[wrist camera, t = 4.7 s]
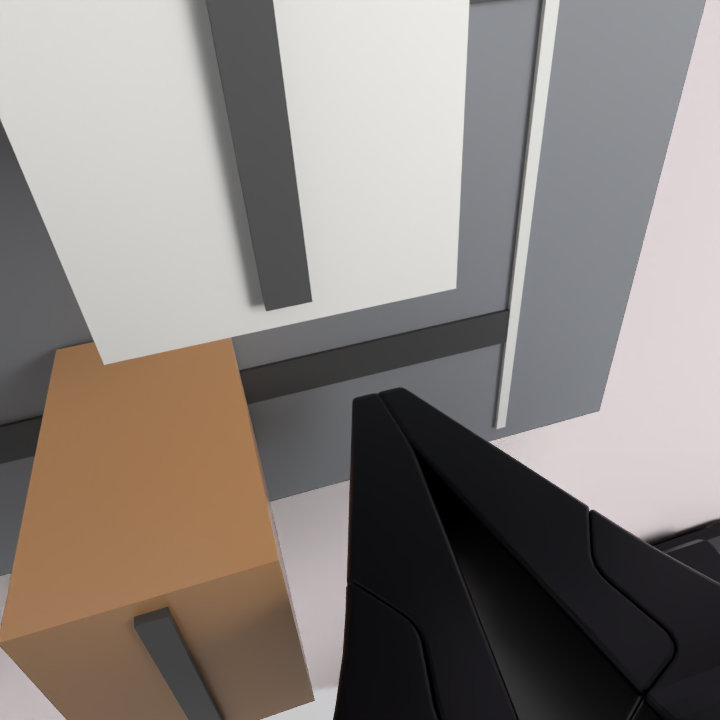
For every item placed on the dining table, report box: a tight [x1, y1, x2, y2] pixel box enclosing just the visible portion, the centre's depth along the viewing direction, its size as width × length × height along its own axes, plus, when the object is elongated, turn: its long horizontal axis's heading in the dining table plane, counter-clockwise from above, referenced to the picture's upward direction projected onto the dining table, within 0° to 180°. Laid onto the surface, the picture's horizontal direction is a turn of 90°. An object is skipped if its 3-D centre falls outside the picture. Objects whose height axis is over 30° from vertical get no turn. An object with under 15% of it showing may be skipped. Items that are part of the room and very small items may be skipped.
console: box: [0, 0, 706, 576], centre depth 8 cm, size 10×20×1 cm, turn 94°
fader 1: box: [0, 0, 470, 365], centre depth 5 cm, size 3×2×4 cm
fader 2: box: [0, 337, 314, 720], centre depth 8 cm, size 3×2×4 cm
